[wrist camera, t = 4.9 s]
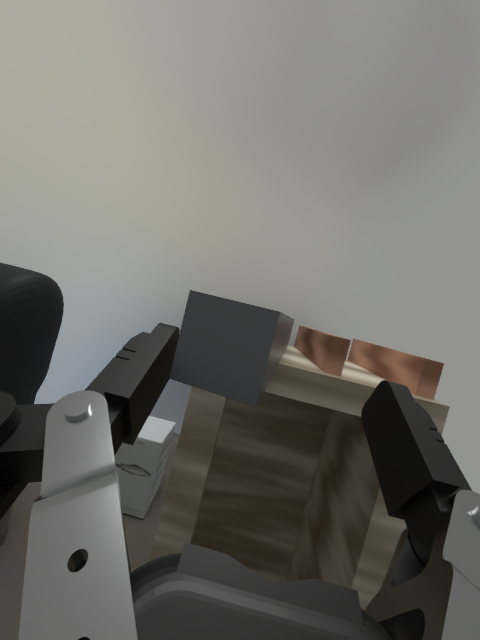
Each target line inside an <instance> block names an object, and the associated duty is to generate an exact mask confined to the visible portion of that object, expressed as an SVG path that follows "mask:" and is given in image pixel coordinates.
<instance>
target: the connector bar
mask: <svg viewBox="0 0 480 640" xmlns="http://www.w3.org/2000/svg"><path fill="white" fill-rule="evenodd" d="M293 323H294V319H292V318H290V317H289V316H287V315H285V314H283V313H281V312H278V311H274V310H270V309H266V308H262V307H258V306H254V305H249V304H245V303H241V302H237V301H233V300H229V299H224V298H221V297H216V296H213V295H208V294H204V293H200V292H196V291H192V290H190V293H189V297H188V301H187V305H186V309H185V314H184V318H183V322H182V326H181V330H180V335H179V339H178V343H177V347H176V351H175V356H174V360H173V364H172V368H171V372H170V377H169V379H172V380H176V381H178V382H182V383H184V384H187V385H190V386H193V387H196V388H199V389H202V390H205V391H208V392H211V393H214V394H217V395H220V396H223V397H226V398H229V399H232V400H235V401H238V402H241V403H244V404H247V405H250V406H253V407H256V406H257V404H258V402H259V401H260V399H261V397H262V395H263V393H264V391H265V389H266V387H267V385H268V383H269V381H270V379H271V377H272V375H273V373H274V371H275V369H276V367H277V366H278V364H279V362H280V360H281V358H282V356H283V354H284V352H285V350H286V348H287V346H288V342H289V338H290V334H291V331H292V327H293Z"/></svg>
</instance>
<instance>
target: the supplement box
mask: <svg viewBox="0 0 480 640" xmlns="http://www.w3.org/2000/svg"><path fill="white" fill-rule="evenodd" d="M175 426H176V423H175V422H171V421H167V420H163V419H160V418H156V417H152V416H149V417H148V418H147V420H146V422H145V424H144V426H143V428H142V429H141V431H140V433H139V435H138V437H137V438H136V440H135V442H134V444H133V445H129V444H125V443H122V445H121V446H120V448H119V450H118V451H117V453H116V455H115V460H116V467H117V475H118V482H119V490H120V497H121V505H122V512H123V513H124V514H128V515H131V516H134V517H137V518H140V519H144V517H145V515H146V513H147V511H148V509H149V507H150V505H151V503H152V501H153V499H154V497H155V495H156V493H157V491H158V489H159V486H160V483H161V479H162V475H163V472H164V468H165V464H166V460H167V456H168V452H169V448H170V444H171V440H172V436H173V432H174V429H175Z"/></svg>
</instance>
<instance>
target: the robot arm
mask: <svg viewBox="0 0 480 640" xmlns="http://www.w3.org/2000/svg"><path fill="white" fill-rule="evenodd" d="M63 306H64V303H63V296H62V293H61V290H60V288H59V286H58V285H57V283H56V282H55V281H54V280H53V279H51V278H50V277H48V276H46V275H44V274H41V273H38V272H35V271H31V270H27V269H24V268H20V267H16V266H12V265H8V264H3V263H0V545H1V543H2V542H3V540H4V538H5V535H6V532H7V528H8V523H9V520H10V516H11V515H10V514H11V509H12V505H13V503H14V501H15V500H16V499H17V497H18V496H19V495H20V493H21V492H22V491H23V489H24V488H25V486H26V485H27V484H28V483H30V482H40V481H42V485H41V493H40V496H39V498H38V499H36V500H35V501H34V503H33V506H32V510H31V516H30V524H29V535H28V545H27V556H26V566H25V577H24V587H23V598H22V608H21V618H20V629H19V639H18V640H480V494H478V493H476V492H473V491H472V490H471V488H470V486H469V484H468V482H467V481H466V479H465V477H464V475H463V474H462V472H461V470H460V468H459V466H458V465H457V463H456V461H455V459H454V458H453V456H452V454H451V452H450V450H449V449H448V447H447V445H446V444H444V440H443V438H442V436H441V434H440V432H438V431H437V430H438V429H437V427H436V425H435V423H434V422H433V420H432V418H431V416H430V415H429V414H428V413H427V412H426V411H425V410H424V409H423V407H422V406H421V405H420V404H419V403H418V402H415V400H414V398H413V396H412V394H411V392H410V390H409V389H408V387H407V386H405V385H402V384H398V383H394V382H390V381H386V380H383V381H381V382H380V383H379V384H378V386H377V387H376V388H375V390H374V391H373V393H372V394H371V396H370V397H369V398H368V400H367V401H366V403H365V404H364V406H363V408H362V412H361V420H362V424H363V428H364V431H365V435H366V438H367V442H368V445H369V449H370V452H371V456H372V459H373V463H374V466H375V470H376V474H377V477H378V481H379V484H380V488H381V491H382V495H383V498H384V502H385V505H386V509H387V512H388V516H391V517H395V518H399V519H402V520H405V523H406V526H407V528H406V529H404V530H403V532H402V533H401V536H400V538H399V541H398V544H397V546H396V549H395V552H394V554H393V557H392V560H391V562H390V565H389V568H388V570H387V573H386V576H385V578H384V581H383V584H382V586H381V588H380V590H379V591H378V593H377V594H376V595H375V596H374V598H373V599H372V600H371V601H370V603H369V604H368V606H367V608H366V609H365V611H364V610H363V609H362V608H361V607H360V602H359V596H358V591H357V590H354V589H350V588H347V587H343V586H339V585H336V584H332V583H329V582H325V581H322V580H318V579H315V578H314V579H304V580H293V581H283V582H269V581H266V580H265V579H263V578H262V577H260V576H259V575H257V574H256V573H254V572H253V571H251V570H250V569H248V568H247V567H245V566H244V565H242V564H241V563H239V562H238V561H236V560H235V559H233V558H232V557H231V556H229V555H228V554H226V553H222V552H218V551H215V550H211V549H208V548H204V547H201V546H197V545H194V544H190V543H186V542H185V543H184V546H183V550H182V553H176V554H169V555H165V556H161V557H159V558H156V559H154V560H151V561H149V562H147V563H146V564H144V565H142V566H140V567H139V568H137V569H136V570H134V571H133V572H132V573H131V571H130V563H129V556H128V548H127V541H126V534H125V527H124V520H123V512H122V505H121V497H120V490H119V482H118V475H117V467H116V460H115V455H116V453H117V451H118V450H119V448H120V446H121V445H122V443H125V444H129V445H133V444H134V442H135V440H136V438H137V437H138V435H139V433H140V431H141V429H142V428H143V426H144V424H145V422H146V420H147V418H148V417H149V415H150V413H151V411H152V409H153V407H154V406H155V404H156V402H157V400H158V398H159V396H160V395H161V393H162V391H163V389H164V387H165V386H166V384H167V382H168V380H169V377H170V372H171V368H172V364H173V360H174V356H175V351H176V347H177V343H178V339H179V328H178V327H175V326H171V325H167V324H163V323H159V324H158V325H157V326H156V327H155V329H154V330H153V331H152V332H151V333H150V334H149V333H145V332H142V333H140V334H138V335H137V336H135V337H133V338H131V339H130V340H129V341H128V342H127V343H126V345H125V346H124V347H123V349H122V350H120V351H119V352H118V353H117V355H116V357H115V358H113V359H112V360H111V361H110V362H109V364H108V365H107V366H106V367H105V368H104V369H103V370H102V371H101V373H100V374H99V375H98V376H97V377H96V378H95V379H94V380H93V382H92V383H91V384H90V385H89V386H88V387H87V388H86V389H85V390H84V391H78V392H74V393H71V394H69V395H66V396H64V397H63V398H61V399H60V400H58V401H57V402H56V403H53V404H34V401H35V397H36V393H37V391H38V389H39V388H40V386H41V384H42V383H43V381H44V379H45V377H46V375H47V372H48V369H49V364H50V361H51V357H52V354H53V351H54V347H55V343H56V340H57V337H58V333H59V329H60V326H61V322H62V316H63Z"/></svg>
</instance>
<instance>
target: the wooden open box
mask: <svg viewBox="0 0 480 640" xmlns="http://www.w3.org/2000/svg"><path fill="white" fill-rule="evenodd" d="M350 341H351V340H348V339H345V338H341V337H338V336H335V335H332V334H328V333H324V332H321V331H318V330H315V329H312V328H308V327H304V326H299V329H298V333H297V337H296V341H295V344H294V347H293V346H289V345H288V346H287V348H286V350H285V352H284V354H283V356H282V358H281V360H280V362H279V364H278V366H277V367H276V369H275V371H274V373H273V375H272V377H271V379H270V381H269V383H268V385H267V387H266V389H265V391H264V393H263V395H262V397H261V399H260V401H259V402H258V404H257V406H256V407H253V406H250V405H247V404H244V403H241V402H238V401H235V400H232V399H229V398H226V397H223V396H220V395H217V394H214V393H211V392H208V391H205V390H202V389H199V388H196V387H193V386H192V388H191V392H190V396H189V400H188V404H187V409H186V412H185V417H184V421H183V425H182V429H181V433H180V437H179V441H178V445H177V449H176V454H175V458H174V462H173V466H172V470H171V474H170V478H169V483H168V487H167V491H166V495H165V499H164V503H163V507H162V511H161V516H160V520H159V524H158V528H157V532H156V536H155V540H154V544H153V549H152V553H151V557H150V561H151V560H154V559H156V558H159V557H161V556H165V555H169V554H176V553H182V550H183V546H184V543H185V542H186V543H190V544H194V545H197V546H201V547H204V548H208V549H211V550H215V551H218V552H222V553H226V554H228V555H229V556H231V557H232V558H233V559H235V560H236V561H238V562H239V563H241V564H242V565H244V566H245V567H247V568H248V569H250V570H251V571H253V572H254V573H256V574H257V575H259V576H260V577H262V578H263V579H265V580H266V581H269V582H283V581H293V580H304V579H314V578H315V579H318V580H322V581H325V582H329V583H332V584H336V585H339V586H343V587H347V588H350V589H354V590H357V591H358V596H359V602H360V607H361V608H362V609H363V610H364V611H365V609H366V608H367V606H368V604H369V603H370V601H371V600H372V599H373V598H374V596H375V595H376V594H377V593H378V591H379V590H380V588H381V586H382V584H383V581H384V578H385V576H386V573H387V570H388V568H389V565H390V562H391V560H392V557H393V554H394V552H395V549H396V546H397V544H398V541H399V538H400V536H401V533H402V532H403V530H404V529H406V528H407V526H406V523H405V520H402V519H399V518H395V517H391V516H388V512H387V509H386V505H385V502H384V498H383V495H382V491H381V488H380V484H379V481H378V477H377V474H376V470H375V466H374V463H373V459H372V456H371V452H370V449H369V445H368V442H367V438H366V435H365V431H364V428H363V424H362V420H361V412H362V408H363V406H364V404H365V403H366V401H367V400H368V398H369V397H370V396H371V394H372V393H373V391H374V390H375V388H376V387H377V386H378V384H379V383H380V382H381V381H383V380H386V381H390V382H394V383H398V384H402V385H405V386H407V387H408V389H409V390H410V392H411V394H412V396H413V398H414V400H415V402H418V403H419V404H420V405H421V406H422V407H423V409H424V410H425V411H426V412H427V413H428V414H429V415H430V416H431V418H432V420H433V422H434V423H435V425H436V427H437V429H438V430H437V431H438V432H440V434H441V435H442V431H443V428H444V424H445V421H446V418H447V414H448V411H449V406H447V405H445V404H443V403H441V402H438V401H436V400H435V399H434V396H435V393H436V389H437V386H438V382H439V379H440V376H441V372H442V369H443V365H444V364H443V363H440V362H437V361H432V360H429V359H426V358H422V357H419V356H415V355H411V354H408V353H404V352H400V351H397V350H393V349H389V348H386V347H382V346H379V345H375V344H371V343H368V342H364V341H360V340H356V339H353V342H352V346H351V349H350V353H349V357H348V360H346V356H347V352H348V348H349V345H350Z"/></svg>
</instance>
